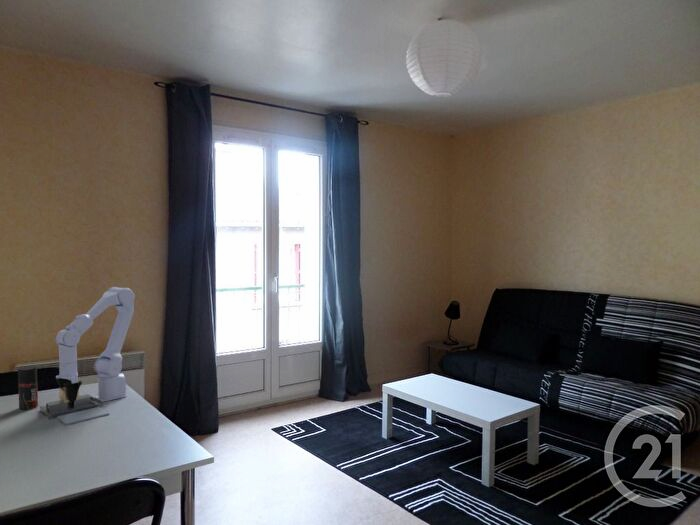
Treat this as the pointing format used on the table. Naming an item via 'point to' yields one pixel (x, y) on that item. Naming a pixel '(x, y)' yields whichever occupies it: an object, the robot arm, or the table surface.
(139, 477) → the table surface
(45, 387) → the table surface
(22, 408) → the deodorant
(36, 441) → the table surface
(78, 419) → the mat
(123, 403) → the table surface
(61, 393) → the collar
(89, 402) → the vise
